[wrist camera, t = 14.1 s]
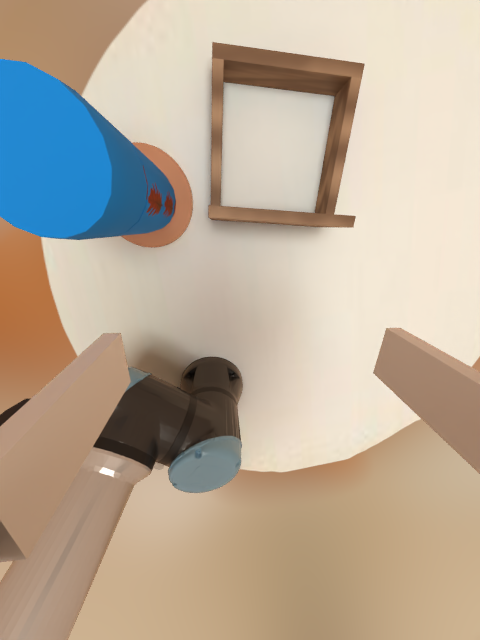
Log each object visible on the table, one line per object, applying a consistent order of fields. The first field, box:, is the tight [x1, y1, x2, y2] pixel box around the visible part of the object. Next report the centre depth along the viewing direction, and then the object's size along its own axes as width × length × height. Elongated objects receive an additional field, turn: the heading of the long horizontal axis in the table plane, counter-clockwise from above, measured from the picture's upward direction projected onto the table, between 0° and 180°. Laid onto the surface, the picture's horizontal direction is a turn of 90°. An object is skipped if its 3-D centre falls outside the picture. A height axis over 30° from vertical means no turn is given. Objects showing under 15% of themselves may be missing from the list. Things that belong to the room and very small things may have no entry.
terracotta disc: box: [122, 143, 193, 247], centre depth 39 cm, size 16×16×1 cm
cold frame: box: [209, 42, 364, 227], centre depth 33 cm, size 21×21×12 cm
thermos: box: [0, 59, 176, 240], centre depth 27 cm, size 11×11×25 cm
